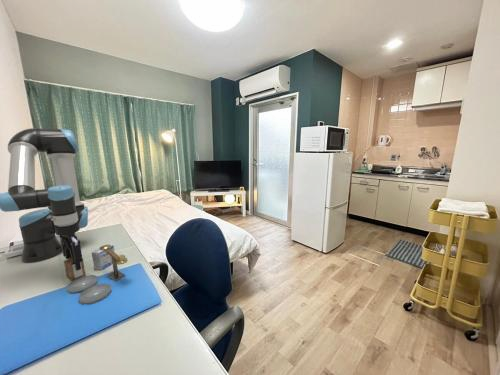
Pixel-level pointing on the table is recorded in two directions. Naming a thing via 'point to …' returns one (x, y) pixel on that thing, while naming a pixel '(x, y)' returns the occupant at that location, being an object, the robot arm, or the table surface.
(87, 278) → the dish
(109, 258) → the medicine box
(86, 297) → the dish
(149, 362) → the table surface
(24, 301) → the table surface
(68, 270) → the block
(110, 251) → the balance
